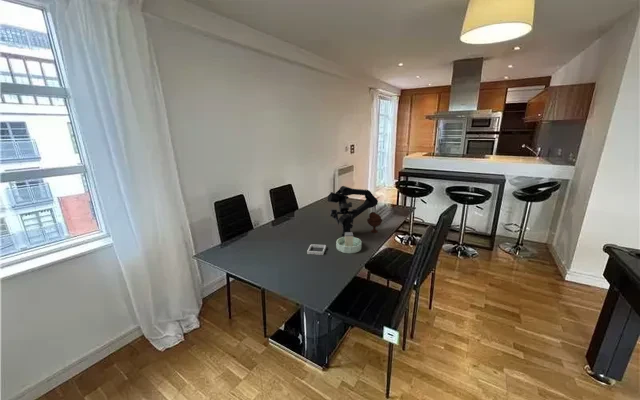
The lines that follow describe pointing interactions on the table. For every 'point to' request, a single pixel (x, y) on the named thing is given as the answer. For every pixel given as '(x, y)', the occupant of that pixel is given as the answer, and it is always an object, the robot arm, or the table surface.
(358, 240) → the serving bowl
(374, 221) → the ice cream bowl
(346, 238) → the cream grey rectangular block
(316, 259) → the table surface
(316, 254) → the square frame
